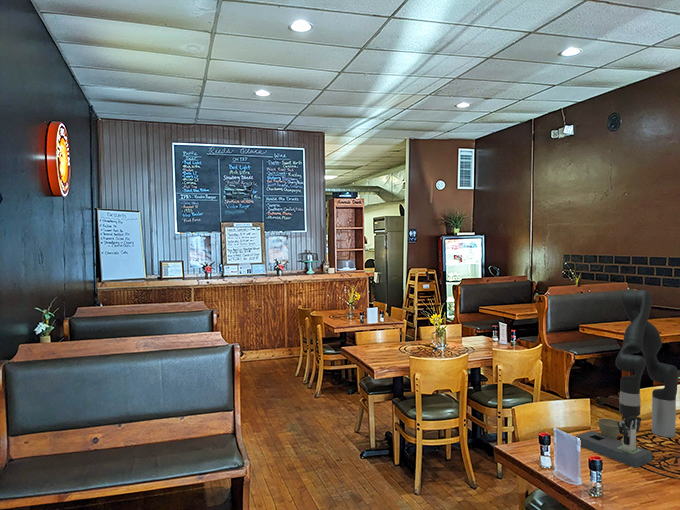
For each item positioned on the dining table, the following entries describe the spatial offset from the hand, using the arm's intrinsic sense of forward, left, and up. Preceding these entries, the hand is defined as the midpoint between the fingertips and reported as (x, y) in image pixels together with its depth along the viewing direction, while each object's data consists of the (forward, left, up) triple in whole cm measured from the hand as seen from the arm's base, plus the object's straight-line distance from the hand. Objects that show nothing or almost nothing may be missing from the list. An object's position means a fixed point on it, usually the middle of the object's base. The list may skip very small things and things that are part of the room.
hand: (629, 443), depth 199 cm
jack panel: (0, -7, -7) cm, 10 cm away
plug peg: (0, 0, -6) cm, 6 cm away
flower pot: (-15, -17, -7) cm, 24 cm away
